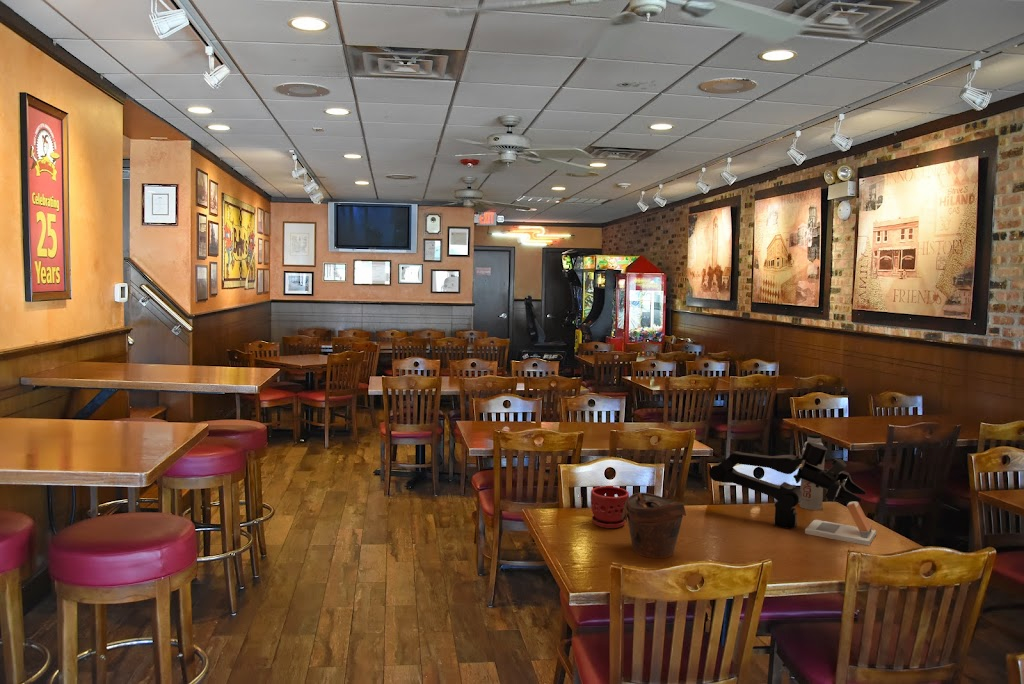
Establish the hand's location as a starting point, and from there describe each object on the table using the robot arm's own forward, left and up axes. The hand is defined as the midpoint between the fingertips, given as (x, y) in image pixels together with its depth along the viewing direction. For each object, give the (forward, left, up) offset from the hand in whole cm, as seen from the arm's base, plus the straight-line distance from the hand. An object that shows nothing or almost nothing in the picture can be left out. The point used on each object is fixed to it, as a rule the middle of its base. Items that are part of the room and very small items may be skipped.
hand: (863, 496), depth 261 cm
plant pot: (-75, -38, -15) cm, 85 cm away
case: (-52, -54, -15) cm, 76 cm away
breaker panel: (-7, +1, -14) cm, 16 cm away
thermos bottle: (-23, +29, -15) cm, 40 cm away
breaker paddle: (+1, +1, -12) cm, 12 cm away
